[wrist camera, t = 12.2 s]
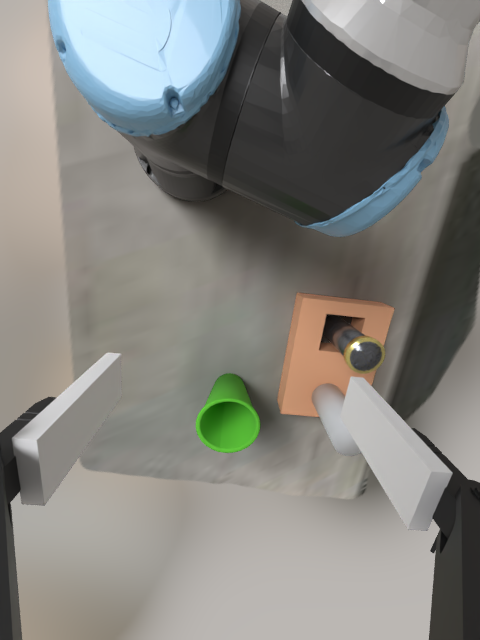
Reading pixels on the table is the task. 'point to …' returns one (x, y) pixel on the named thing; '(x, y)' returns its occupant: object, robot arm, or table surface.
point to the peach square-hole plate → (326, 362)
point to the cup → (228, 417)
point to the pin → (354, 345)
